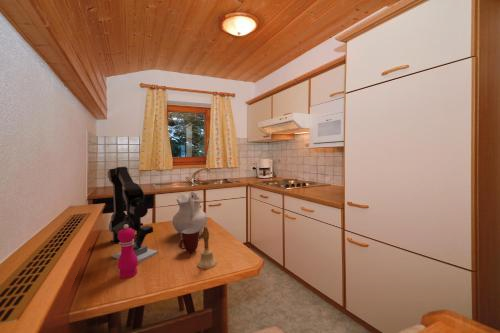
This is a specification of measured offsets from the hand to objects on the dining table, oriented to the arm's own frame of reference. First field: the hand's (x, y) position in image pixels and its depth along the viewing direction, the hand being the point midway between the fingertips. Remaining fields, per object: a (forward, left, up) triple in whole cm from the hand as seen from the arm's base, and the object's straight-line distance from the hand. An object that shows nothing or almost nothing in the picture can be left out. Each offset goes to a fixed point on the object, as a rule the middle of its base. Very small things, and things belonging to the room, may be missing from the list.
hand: (135, 246), depth 110 cm
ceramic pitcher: (+6, +31, -4) cm, 32 cm away
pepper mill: (+13, -13, -4) cm, 19 cm away
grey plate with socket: (0, 0, -4) cm, 4 cm away
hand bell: (+36, +7, -4) cm, 37 cm away
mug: (+21, +13, -4) cm, 25 cm away
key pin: (0, 0, -3) cm, 3 cm away
